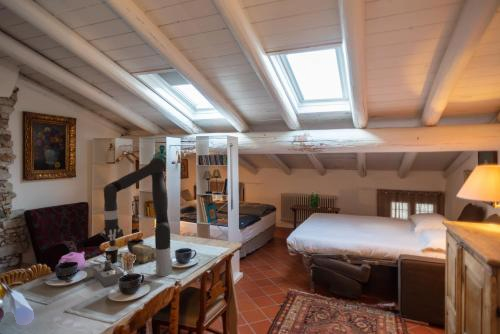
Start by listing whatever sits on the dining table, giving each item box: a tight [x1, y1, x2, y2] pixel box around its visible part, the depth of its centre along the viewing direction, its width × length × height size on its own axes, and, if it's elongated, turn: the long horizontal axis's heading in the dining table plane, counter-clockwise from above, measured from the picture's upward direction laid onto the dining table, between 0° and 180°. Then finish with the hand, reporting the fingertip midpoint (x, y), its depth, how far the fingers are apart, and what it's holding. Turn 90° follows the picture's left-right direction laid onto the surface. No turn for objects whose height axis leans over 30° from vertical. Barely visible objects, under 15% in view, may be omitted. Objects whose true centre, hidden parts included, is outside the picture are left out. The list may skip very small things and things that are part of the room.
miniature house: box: [131, 243, 156, 265], centre depth 221 cm, size 15×14×11 cm
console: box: [92, 263, 124, 288], centre depth 190 cm, size 11×22×6 cm, turn 43°
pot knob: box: [103, 260, 111, 272], centre depth 189 cm, size 4×4×6 cm
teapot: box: [58, 251, 86, 271], centre depth 202 cm, size 20×12×13 cm, turn 165°
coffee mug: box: [100, 246, 119, 265], centre depth 218 cm, size 12×9×10 cm
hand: (112, 246), depth 184 cm, fingers closed
